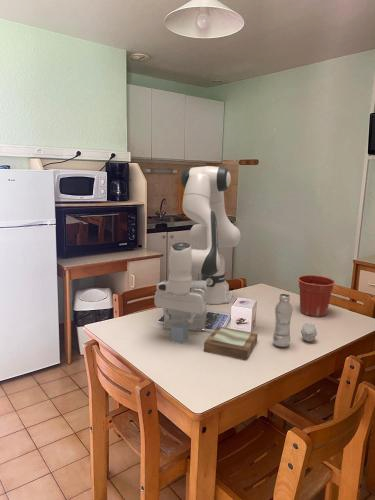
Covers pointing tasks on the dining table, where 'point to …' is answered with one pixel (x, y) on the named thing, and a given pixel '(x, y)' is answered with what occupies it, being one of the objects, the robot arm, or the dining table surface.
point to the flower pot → (315, 294)
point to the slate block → (179, 332)
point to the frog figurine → (308, 332)
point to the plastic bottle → (282, 321)
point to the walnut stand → (231, 342)
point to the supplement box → (188, 313)
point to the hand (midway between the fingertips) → (179, 320)
